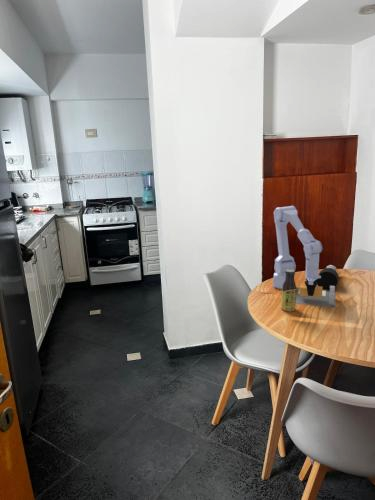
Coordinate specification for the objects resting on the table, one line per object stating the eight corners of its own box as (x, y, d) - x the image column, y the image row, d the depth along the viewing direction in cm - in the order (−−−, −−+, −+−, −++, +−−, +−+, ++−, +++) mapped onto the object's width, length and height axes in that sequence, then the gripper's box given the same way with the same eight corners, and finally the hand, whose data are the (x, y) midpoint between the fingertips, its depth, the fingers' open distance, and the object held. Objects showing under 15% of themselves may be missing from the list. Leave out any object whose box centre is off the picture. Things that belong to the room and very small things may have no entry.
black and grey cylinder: (334, 280, 217) (344, 265, 214) (330, 294, 187) (341, 278, 183) (319, 271, 220) (328, 256, 217) (312, 284, 190) (323, 267, 186)
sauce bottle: (285, 315, 164) (286, 273, 159) (278, 310, 170) (279, 269, 165) (298, 313, 166) (299, 271, 160) (291, 308, 171) (292, 267, 166)
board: (294, 306, 173) (294, 303, 173) (298, 291, 191) (298, 288, 191) (335, 310, 167) (335, 307, 166) (335, 294, 185) (335, 291, 184)
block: (299, 295, 175) (299, 287, 174) (300, 292, 179) (300, 284, 178) (321, 297, 172) (322, 289, 171) (322, 294, 175) (322, 286, 174)
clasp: (329, 304, 169) (330, 290, 167) (329, 297, 177) (330, 283, 175) (333, 305, 168) (334, 290, 166) (333, 298, 176) (334, 283, 174)
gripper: (320, 272, 164) (319, 300, 167) (321, 262, 177) (320, 289, 180) (304, 271, 166) (303, 299, 170) (306, 261, 179) (305, 288, 183)
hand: (310, 293), depth 175 cm, fingers closed on block, 4 cm apart
